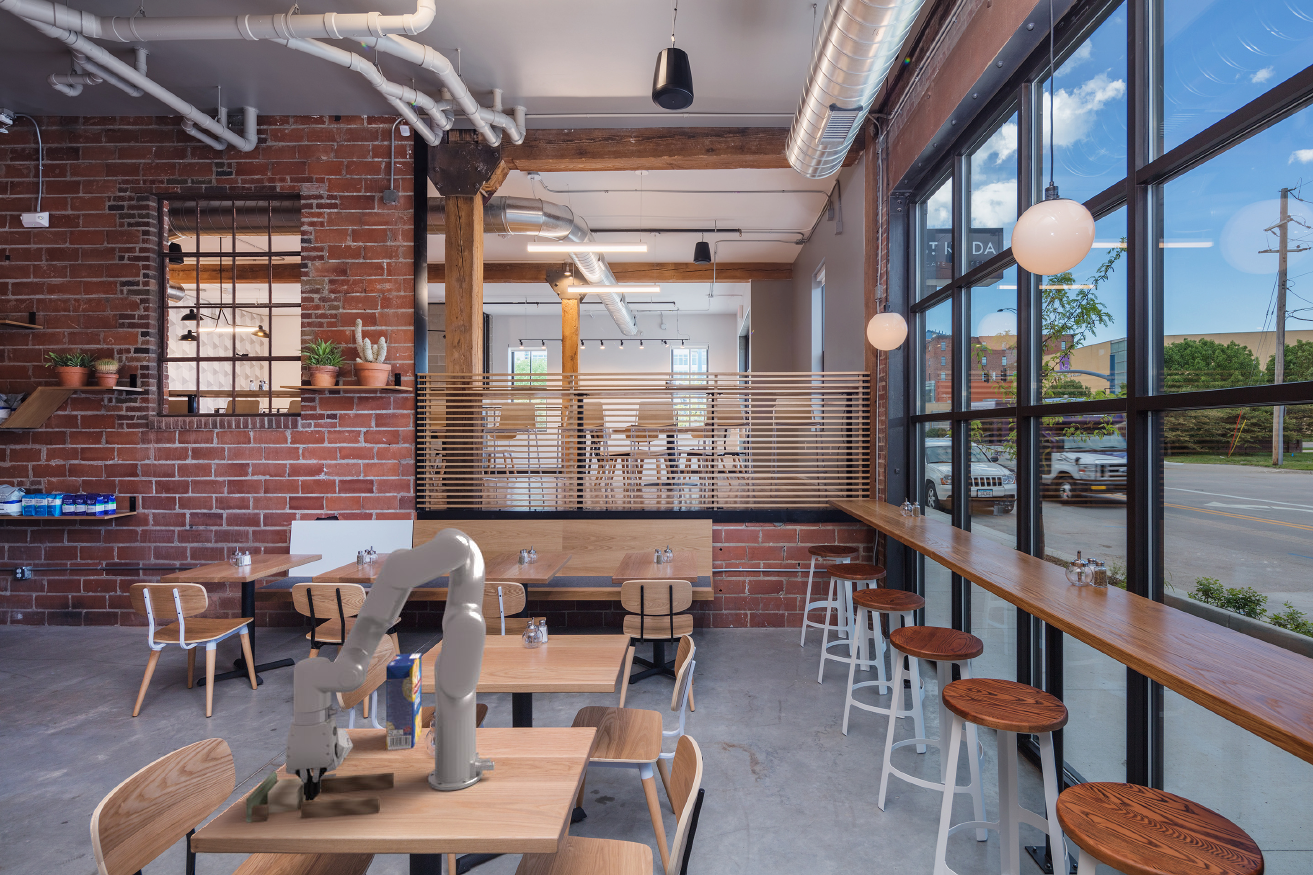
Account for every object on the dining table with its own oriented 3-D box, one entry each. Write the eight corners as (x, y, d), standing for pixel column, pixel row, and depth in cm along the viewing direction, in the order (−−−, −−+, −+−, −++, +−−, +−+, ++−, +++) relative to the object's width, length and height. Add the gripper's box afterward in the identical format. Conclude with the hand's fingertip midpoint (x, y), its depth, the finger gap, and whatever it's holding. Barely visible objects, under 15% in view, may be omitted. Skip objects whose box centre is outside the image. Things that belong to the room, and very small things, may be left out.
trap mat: (336, 774, 160) (336, 773, 160) (325, 788, 153) (325, 787, 153) (301, 777, 159) (301, 776, 159) (289, 790, 152) (289, 789, 152)
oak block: (307, 797, 150) (307, 777, 150) (296, 811, 144) (296, 790, 144) (279, 799, 149) (280, 779, 149) (267, 813, 143) (267, 792, 143)
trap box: (393, 785, 154) (393, 763, 155) (378, 812, 143) (378, 789, 143) (272, 793, 151) (272, 771, 151) (246, 822, 139) (246, 798, 139)
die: (324, 777, 160) (351, 738, 164) (296, 756, 162) (324, 718, 165) (339, 774, 168) (365, 737, 171) (313, 754, 170) (339, 718, 173)
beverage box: (421, 731, 185) (421, 652, 186) (413, 748, 174) (413, 664, 175) (396, 732, 184) (396, 654, 185) (386, 750, 173) (386, 666, 174)
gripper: (352, 706, 152) (352, 786, 151) (284, 710, 150) (284, 791, 149) (341, 719, 144) (340, 803, 144) (269, 723, 143) (268, 809, 142)
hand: (311, 797), depth 147 cm, fingers closed
